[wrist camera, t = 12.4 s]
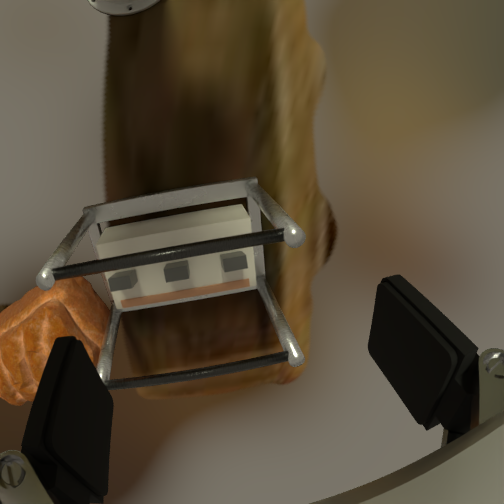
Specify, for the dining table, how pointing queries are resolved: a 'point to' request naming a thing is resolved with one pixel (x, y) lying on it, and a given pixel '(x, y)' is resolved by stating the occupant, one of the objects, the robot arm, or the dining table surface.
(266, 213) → the frame
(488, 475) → the robot arm
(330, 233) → the dining table surface
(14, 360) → the bread
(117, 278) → the grey rectangular block
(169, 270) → the dark grey rectangular box
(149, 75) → the dining table surface
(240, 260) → the grey matte cuboid
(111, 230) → the switch box
